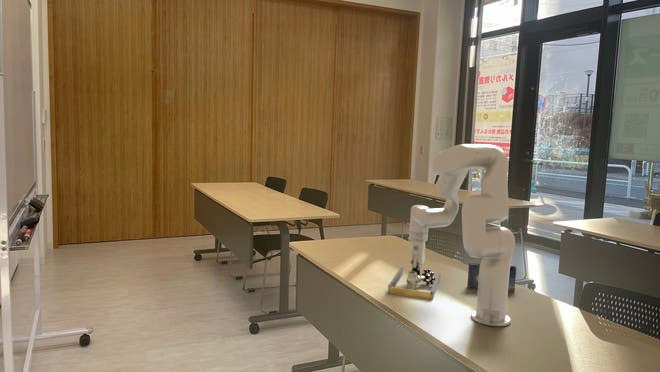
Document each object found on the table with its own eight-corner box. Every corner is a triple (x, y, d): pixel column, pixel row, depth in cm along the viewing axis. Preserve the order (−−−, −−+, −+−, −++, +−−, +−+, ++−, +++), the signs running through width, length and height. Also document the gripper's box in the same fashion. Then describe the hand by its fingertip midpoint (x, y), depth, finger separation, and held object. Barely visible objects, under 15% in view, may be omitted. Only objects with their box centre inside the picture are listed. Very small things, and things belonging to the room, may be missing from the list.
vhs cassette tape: (513, 289, 200) (515, 265, 199) (515, 291, 197) (517, 267, 196) (466, 286, 202) (468, 262, 201) (468, 288, 199) (469, 264, 198)
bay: (432, 299, 184) (433, 291, 184) (387, 293, 189) (388, 285, 189) (440, 278, 210) (440, 271, 210) (400, 273, 216) (400, 267, 215)
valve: (413, 291, 192) (434, 286, 199) (414, 275, 191) (436, 271, 198) (401, 286, 197) (422, 281, 204) (402, 270, 196) (423, 266, 203)
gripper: (425, 240, 193) (422, 286, 195) (429, 233, 207) (426, 275, 209) (406, 238, 195) (403, 283, 197) (412, 231, 209) (409, 272, 212)
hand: (415, 279), depth 203 cm, fingers closed
